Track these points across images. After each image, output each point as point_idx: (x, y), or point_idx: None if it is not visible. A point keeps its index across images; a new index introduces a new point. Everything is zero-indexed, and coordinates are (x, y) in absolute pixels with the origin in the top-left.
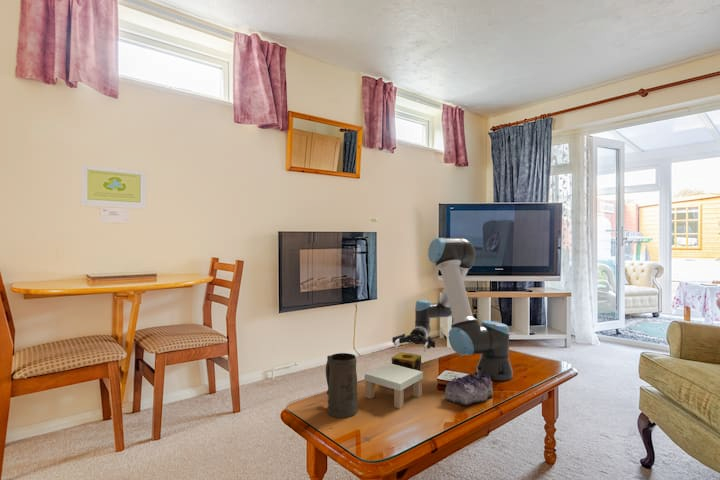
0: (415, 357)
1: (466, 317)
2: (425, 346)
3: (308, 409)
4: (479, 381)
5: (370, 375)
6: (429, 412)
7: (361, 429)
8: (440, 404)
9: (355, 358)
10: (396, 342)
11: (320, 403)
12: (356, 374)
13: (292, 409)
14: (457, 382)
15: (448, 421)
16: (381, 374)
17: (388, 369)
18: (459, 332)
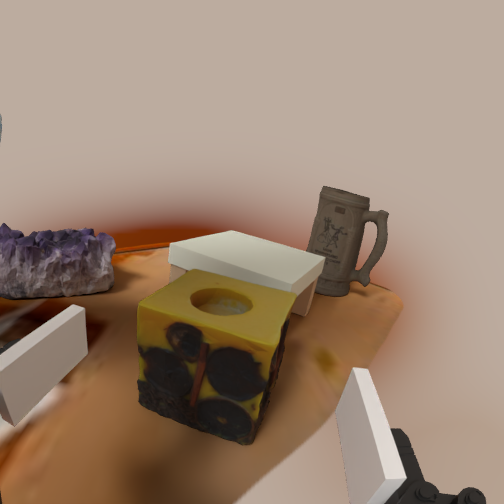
0: (179, 288)
1: None
2: (76, 309)
3: (373, 291)
4: (36, 232)
5: (308, 252)
6: (166, 270)
7: None
8: (132, 281)
9: (323, 187)
10: (354, 378)
11: (371, 300)
12: (315, 217)
13: (391, 292)
14: (93, 232)
15: (140, 256)
16: (284, 250)
17: (276, 260)
18: (1, 127)
